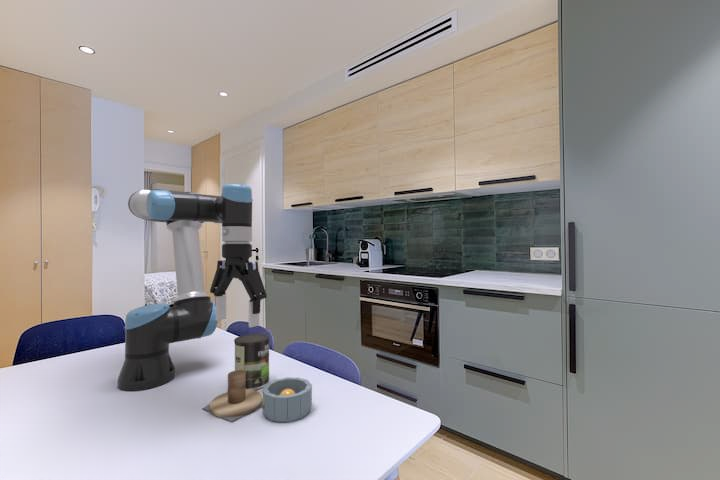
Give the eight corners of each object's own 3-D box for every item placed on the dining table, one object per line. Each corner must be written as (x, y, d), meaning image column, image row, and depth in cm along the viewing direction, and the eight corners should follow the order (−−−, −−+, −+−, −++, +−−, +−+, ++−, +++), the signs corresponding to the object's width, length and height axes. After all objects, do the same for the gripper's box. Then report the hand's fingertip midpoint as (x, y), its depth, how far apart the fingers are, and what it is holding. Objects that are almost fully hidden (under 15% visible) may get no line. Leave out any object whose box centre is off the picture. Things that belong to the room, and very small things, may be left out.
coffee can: (275, 378, 106) (275, 334, 106) (259, 392, 96) (259, 343, 96) (245, 376, 108) (245, 332, 108) (227, 389, 98) (227, 341, 98)
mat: (202, 409, 86) (202, 407, 86) (241, 392, 96) (241, 390, 96) (231, 422, 80) (231, 421, 80) (270, 402, 90) (270, 401, 90)
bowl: (253, 413, 84) (253, 390, 84) (287, 395, 94) (287, 374, 94) (287, 428, 77) (287, 402, 77) (320, 406, 87) (320, 383, 87)
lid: (199, 408, 86) (199, 376, 86) (241, 389, 97) (241, 361, 97) (231, 422, 79) (231, 388, 79) (272, 400, 90) (272, 370, 90)
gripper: (196, 242, 92) (196, 319, 92) (257, 243, 78) (257, 332, 78) (220, 242, 98) (220, 314, 98) (280, 243, 85) (280, 326, 85)
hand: (236, 322), depth 88 cm, fingers open, 13 cm apart
